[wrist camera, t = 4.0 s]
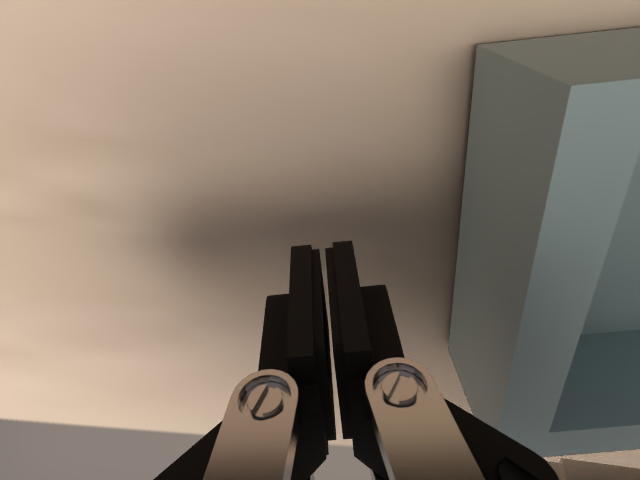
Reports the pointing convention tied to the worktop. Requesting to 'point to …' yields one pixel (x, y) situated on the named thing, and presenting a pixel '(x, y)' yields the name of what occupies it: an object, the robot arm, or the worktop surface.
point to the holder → (552, 243)
